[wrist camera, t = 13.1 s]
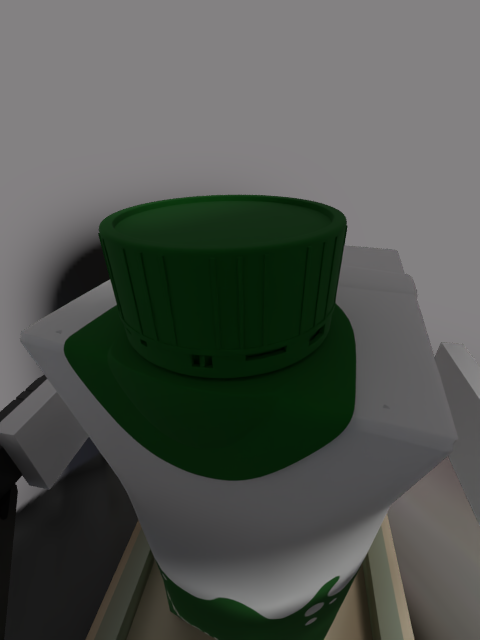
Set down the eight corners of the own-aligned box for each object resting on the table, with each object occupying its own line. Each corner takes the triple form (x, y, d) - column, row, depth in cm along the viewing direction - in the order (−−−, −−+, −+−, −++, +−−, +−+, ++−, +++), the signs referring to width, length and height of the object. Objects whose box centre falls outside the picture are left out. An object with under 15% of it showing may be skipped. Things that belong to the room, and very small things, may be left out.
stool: (355, 511, 26) (379, 447, 22) (405, 888, 13) (500, 949, 8) (188, 480, 29) (176, 416, 24) (90, 766, 16) (17, 755, 11)
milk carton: (145, 626, 15) (-111, 229, 4) (216, 466, 22) (185, 172, 12) (320, 726, 12) (758, 333, 2) (336, 508, 19) (438, 176, 9)
